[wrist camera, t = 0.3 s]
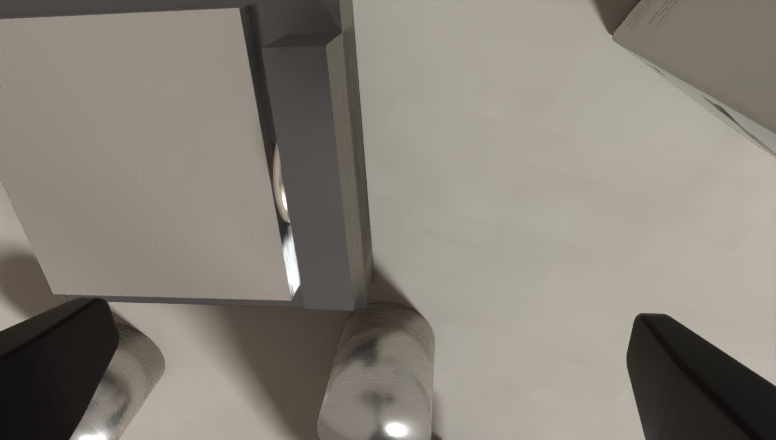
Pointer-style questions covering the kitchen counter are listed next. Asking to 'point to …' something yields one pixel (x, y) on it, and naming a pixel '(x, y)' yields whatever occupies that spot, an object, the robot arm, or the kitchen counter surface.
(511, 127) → the kitchen counter surface
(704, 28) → the supplement box
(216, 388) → the kitchen counter surface
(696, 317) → the kitchen counter surface
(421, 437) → the cylinder
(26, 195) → the dial scale
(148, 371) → the cylinder
